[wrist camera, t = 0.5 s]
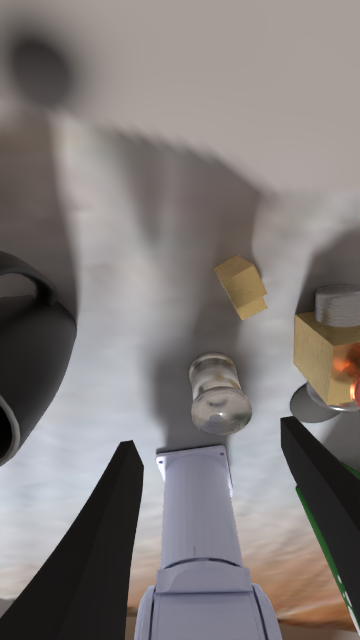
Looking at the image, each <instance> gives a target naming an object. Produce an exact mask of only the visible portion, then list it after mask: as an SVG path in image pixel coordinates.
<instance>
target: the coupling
mask: <svg viewBox="0 0 360 640" xmlns="http://www.w3.org/2000/svg"><path fill="white" fill-rule="evenodd" d="M189 380H190V383H191V385H192V393H193V403H192V407H191V414H192V421H193V423H194V425H195V426H196V427H197V428H198V429H199V430H200V431H202V432H204V433H206V434H209V435H214V436H225V435H230V434H233V433H236V432H238V431H239V430H241V429H243V428H244V427H245V426H246V425H247V424H248V422H249V421H250V419H251V416H252V408H251V405H250V403H249V400H248V398H247V396H246V395H245V394H244V393H243V392H242V389H241V387H240V384H239V381H238V378H237V369H236V367H235V364H234V362H233V361H232V359H231V358H230V357H228V356H227V355H225V354H222V353H219V352H209V353H205V354H202V355H200V356H199V357H197V358H196V359H195V360H194V361H193V362H192V363H191V365H190V368H189Z"/></svg>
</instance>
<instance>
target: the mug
mask: <svg viewBox="0 0 360 640" xmlns="http://www.w3.org/2000/svg"><path fill="white" fill-rule="evenodd" d="M7 273H17V274H21V275H23V276H25V277H27V278H29V279H30V280H31V281H32V282H33V283H34V286H35V290H34V295H26V296H15V297H0V466H2V465H3V464H5V463H6V462H7V461H9V460H10V459H12V458H13V457H14V456H15V454H16V453H17V452H18V450H19V449H20V447H21V446H22V445H23V443H24V442H25V440H26V439H27V437H28V436H29V434H30V433H31V432H32V430H33V429H34V427H35V426H36V424H37V423H38V421H39V420H40V419H41V417H42V416H43V414H44V413H45V411H46V410H47V408H48V407H49V405H50V404H51V402H52V400H53V399H54V397H55V395H56V393H57V391H58V389H59V387H60V385H61V382H62V380H63V378H64V375H65V372H66V369H67V366H68V363H69V360H70V357H71V353H72V349H73V345H74V342H75V339H76V332H77V329H76V325H75V322H74V319H73V317H72V316H71V314H70V313H69V312H68V310H67V309H66V308H65V307H63V306H62V305H61V304H60V303H58V302H57V301H56V299H57V289H56V287H55V286H54V284H53V283H52V282H51V281H50V280H49V279H47V278H46V277H45V276H43V275H42V274H41V273H39V272H38V271H37V270H36V269H34V268H33V267H31V266H30V265H28V264H27V263H25V262H24V261H22V260H21V259H19V258H17V257H15V256H13V255H10V254H8V253H6V252H3V251H0V275H3V274H7Z"/></svg>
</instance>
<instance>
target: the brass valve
mask: <svg viewBox="0 0 360 640" xmlns="http://www.w3.org/2000/svg"><path fill="white" fill-rule="evenodd" d="M294 364H295V366H296V367H297V368H298V369H299V371H300V372H301V373H302V374H303V376H304V377H305V378H306V379H307V393H308V395H309V396H310V398H311V399H312V400H313V401H314V402H316V403H317V404H319V405H320V406H322V407H324V408H326V409H329V410H332V411H336V412H343V413H350V412H356V411H359V410H360V286H358V285H349V284H337V285H329V286H324V287H321V288H319V289H317V290H316V296H315V311H312V312H306V313H300V314H295V334H294Z"/></svg>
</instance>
